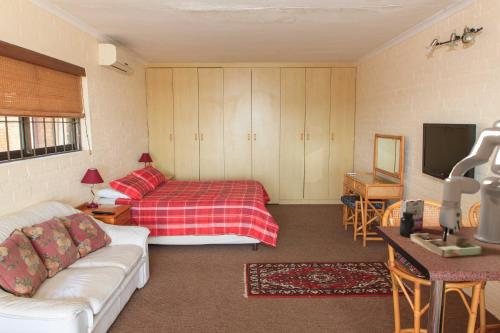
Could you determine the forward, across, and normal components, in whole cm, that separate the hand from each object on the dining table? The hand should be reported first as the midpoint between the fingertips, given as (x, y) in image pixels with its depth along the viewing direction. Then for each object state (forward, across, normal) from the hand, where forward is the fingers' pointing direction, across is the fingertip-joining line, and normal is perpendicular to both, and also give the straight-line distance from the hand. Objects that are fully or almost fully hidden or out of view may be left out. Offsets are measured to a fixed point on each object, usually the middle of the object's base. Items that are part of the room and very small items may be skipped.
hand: (447, 241), depth 170 cm
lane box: (+1, -3, +4) cm, 5 cm away
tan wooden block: (+1, -6, 0) cm, 6 cm away
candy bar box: (+2, +24, +3) cm, 24 cm away
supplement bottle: (+2, +15, +12) cm, 19 cm away
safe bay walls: (+1, -9, +4) cm, 10 cm away
